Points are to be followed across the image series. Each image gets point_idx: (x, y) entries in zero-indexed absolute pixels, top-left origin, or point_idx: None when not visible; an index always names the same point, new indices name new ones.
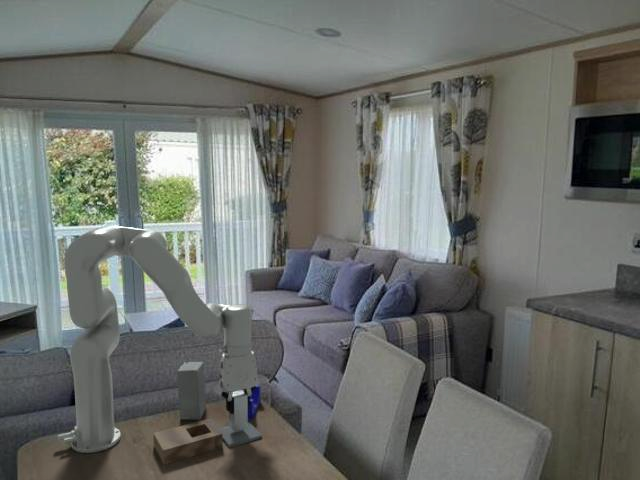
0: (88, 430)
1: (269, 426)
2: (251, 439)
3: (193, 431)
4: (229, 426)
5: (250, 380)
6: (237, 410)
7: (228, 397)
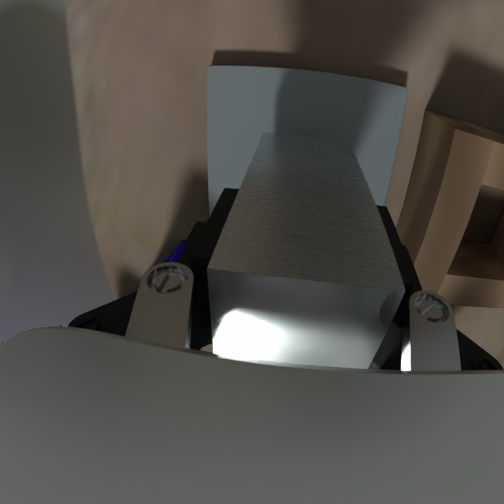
0: None
1: (136, 145)
2: (273, 67)
3: (481, 264)
4: None
5: (56, 467)
6: (344, 198)
7: (454, 327)
